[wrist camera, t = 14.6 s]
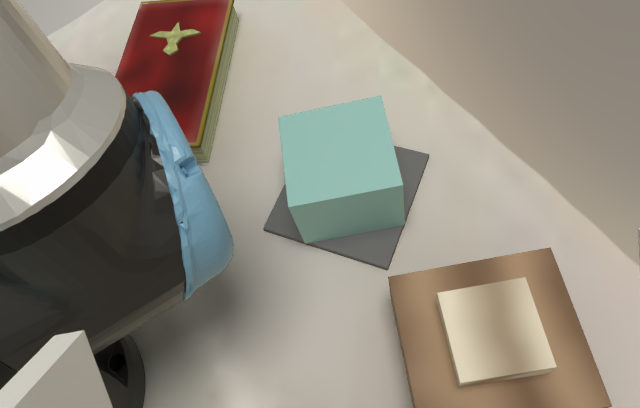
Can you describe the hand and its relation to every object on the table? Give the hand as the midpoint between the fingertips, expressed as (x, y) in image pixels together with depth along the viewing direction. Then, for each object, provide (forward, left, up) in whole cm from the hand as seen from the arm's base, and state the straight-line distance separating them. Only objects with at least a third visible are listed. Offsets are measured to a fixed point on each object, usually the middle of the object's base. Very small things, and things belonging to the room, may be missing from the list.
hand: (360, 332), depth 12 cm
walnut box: (+4, +8, -30) cm, 31 cm away
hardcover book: (-34, +25, -30) cm, 52 cm away
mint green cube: (-11, +18, -29) cm, 36 cm away
